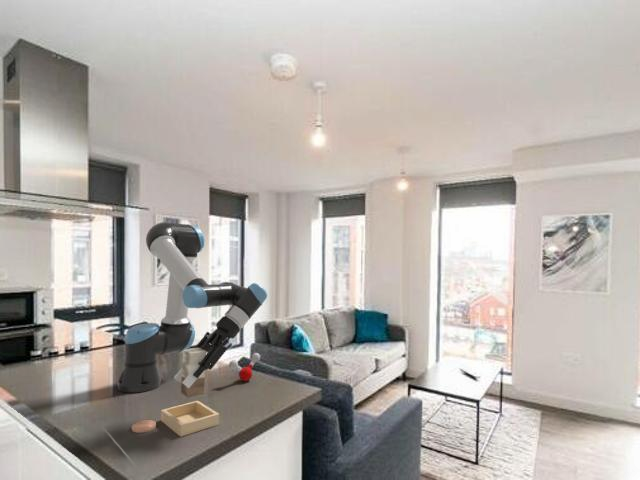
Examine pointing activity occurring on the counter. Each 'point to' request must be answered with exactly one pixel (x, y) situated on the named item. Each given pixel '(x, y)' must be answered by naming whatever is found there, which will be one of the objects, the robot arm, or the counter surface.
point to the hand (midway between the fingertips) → (181, 382)
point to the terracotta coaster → (143, 426)
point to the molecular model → (245, 372)
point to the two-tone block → (189, 363)
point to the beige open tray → (189, 418)
